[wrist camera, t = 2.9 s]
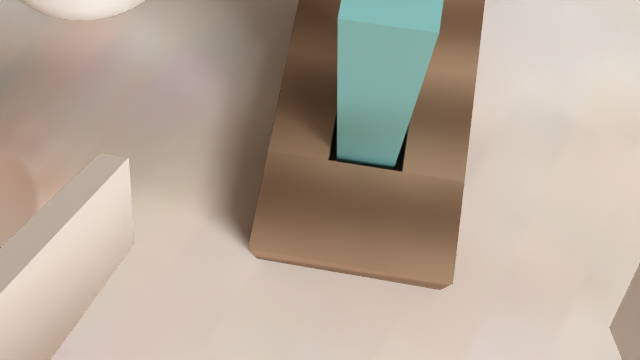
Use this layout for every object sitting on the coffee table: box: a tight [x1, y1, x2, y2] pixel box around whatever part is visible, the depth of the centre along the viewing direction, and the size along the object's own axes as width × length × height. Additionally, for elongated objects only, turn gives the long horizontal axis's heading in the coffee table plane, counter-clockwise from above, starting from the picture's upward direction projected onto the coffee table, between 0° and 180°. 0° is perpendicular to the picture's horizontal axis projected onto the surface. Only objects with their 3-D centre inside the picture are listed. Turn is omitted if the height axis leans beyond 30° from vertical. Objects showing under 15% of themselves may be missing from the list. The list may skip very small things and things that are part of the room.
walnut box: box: [248, 0, 485, 290], centre depth 32 cm, size 16×10×4 cm, turn 170°
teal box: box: [337, 0, 444, 170], centre depth 26 cm, size 5×3×16 cm, turn 170°
